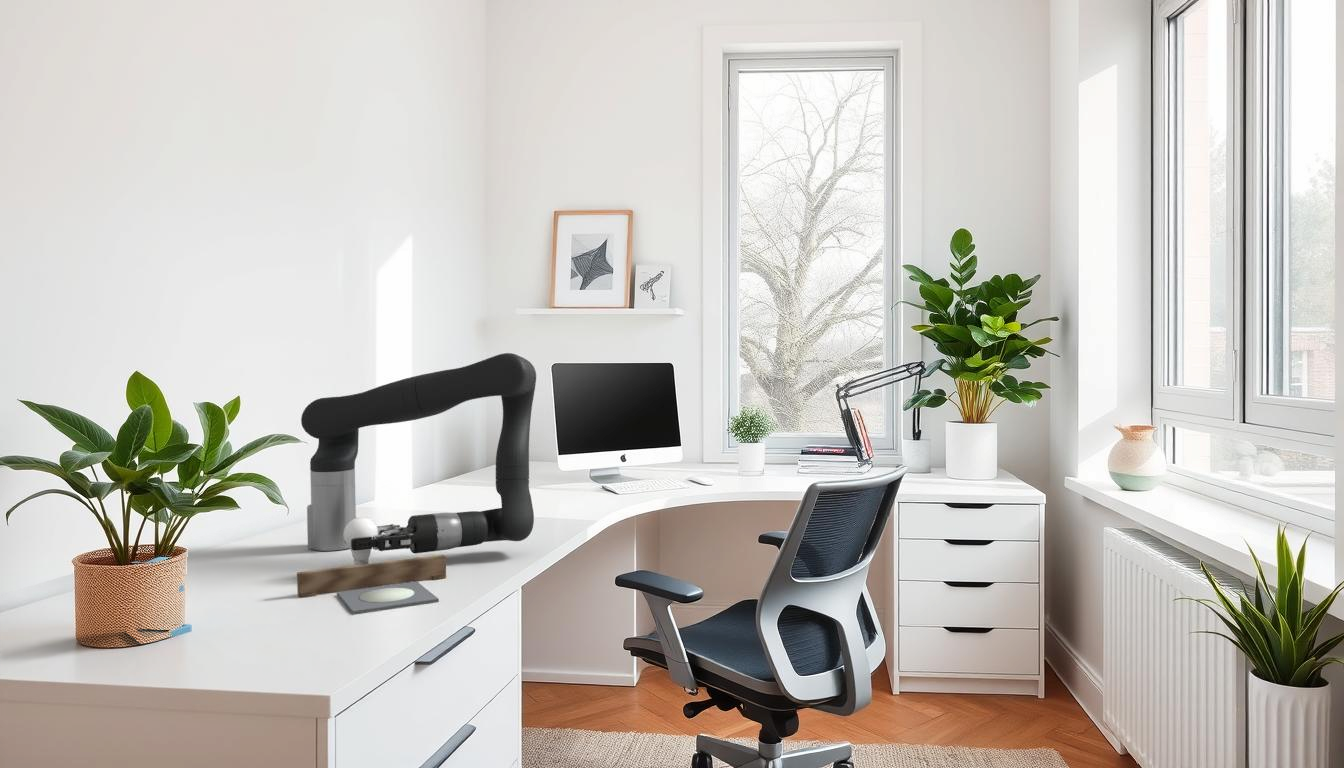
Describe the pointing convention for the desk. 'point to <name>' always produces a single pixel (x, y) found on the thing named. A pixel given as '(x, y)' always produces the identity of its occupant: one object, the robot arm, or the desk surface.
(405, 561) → the walnut fence
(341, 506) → the robot arm
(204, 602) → the desk surface
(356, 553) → the lightbulb
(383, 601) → the mat
